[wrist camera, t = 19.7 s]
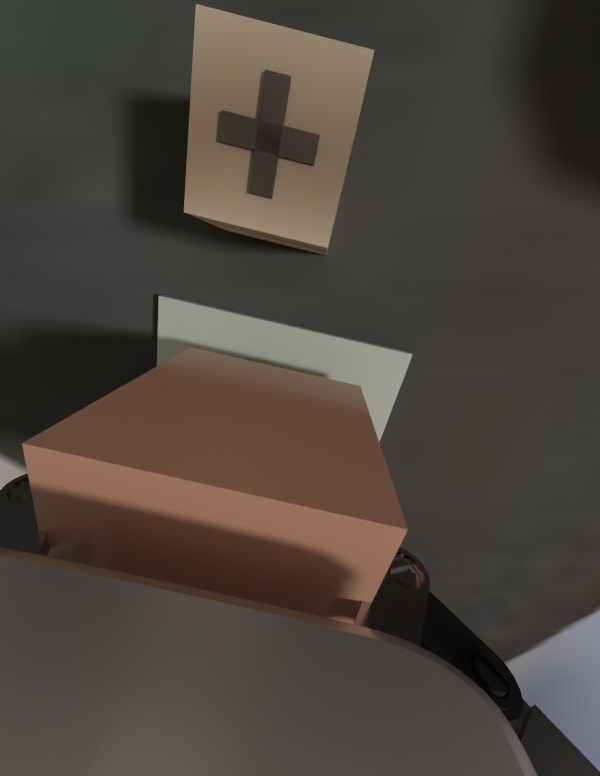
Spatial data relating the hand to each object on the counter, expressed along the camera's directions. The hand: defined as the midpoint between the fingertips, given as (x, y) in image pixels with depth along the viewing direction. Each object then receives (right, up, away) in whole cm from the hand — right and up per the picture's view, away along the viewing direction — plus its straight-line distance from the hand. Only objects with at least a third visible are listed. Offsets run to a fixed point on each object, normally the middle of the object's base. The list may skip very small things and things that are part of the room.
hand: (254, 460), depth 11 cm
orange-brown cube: (0, +1, +1) cm, 2 cm away
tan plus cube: (+1, +10, -1) cm, 11 cm away
